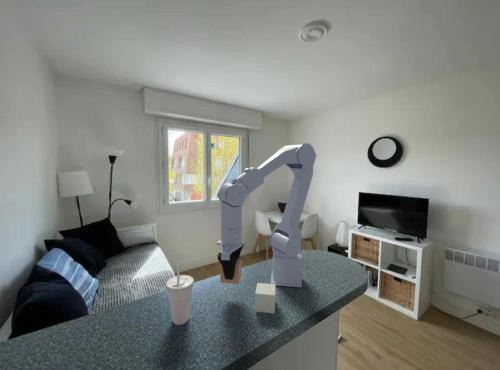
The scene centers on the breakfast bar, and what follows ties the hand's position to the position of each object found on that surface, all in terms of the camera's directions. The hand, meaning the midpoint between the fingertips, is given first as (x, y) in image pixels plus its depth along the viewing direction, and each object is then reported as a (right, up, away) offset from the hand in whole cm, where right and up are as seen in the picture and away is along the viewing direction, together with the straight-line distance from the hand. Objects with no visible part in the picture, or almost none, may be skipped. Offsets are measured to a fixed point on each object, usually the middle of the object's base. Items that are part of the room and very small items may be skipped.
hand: (231, 273), depth 62 cm
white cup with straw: (-11, -8, -9) cm, 16 cm away
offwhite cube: (+9, -7, -4) cm, 12 cm away
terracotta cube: (0, -1, 0) cm, 1 cm away
